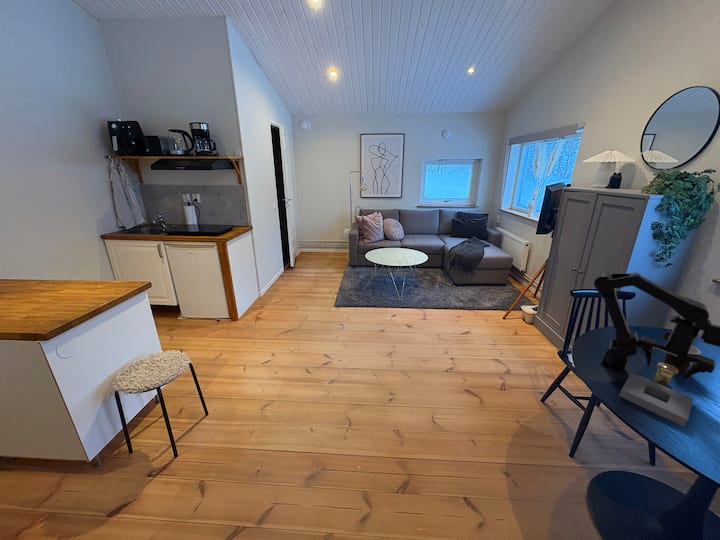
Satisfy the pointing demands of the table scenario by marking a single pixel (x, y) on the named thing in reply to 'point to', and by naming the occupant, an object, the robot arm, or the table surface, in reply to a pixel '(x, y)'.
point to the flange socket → (672, 410)
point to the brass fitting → (665, 373)
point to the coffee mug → (681, 360)
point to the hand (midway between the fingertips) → (665, 372)
